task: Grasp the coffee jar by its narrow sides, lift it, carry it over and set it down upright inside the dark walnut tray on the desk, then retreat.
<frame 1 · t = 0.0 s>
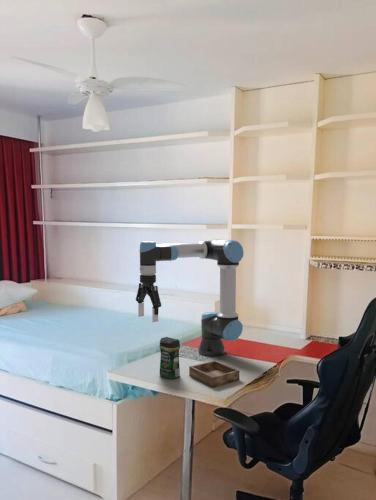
hand: (148, 319, 191), 28 cm above the table, fingers open, 13 cm apart
coffee jar: (169, 376, 194), on the table
walnut tray: (213, 377, 192), on the table
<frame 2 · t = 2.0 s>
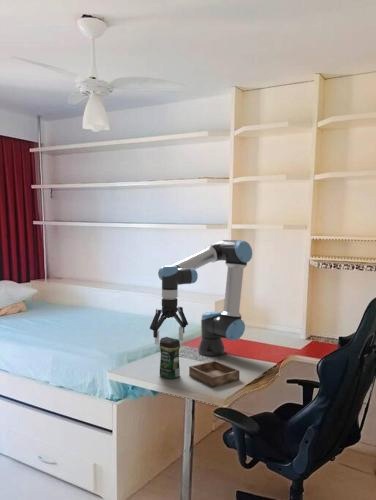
hand: (169, 342, 193), 16 cm above the table, fingers open, 13 cm apart
nothing on the table moved.
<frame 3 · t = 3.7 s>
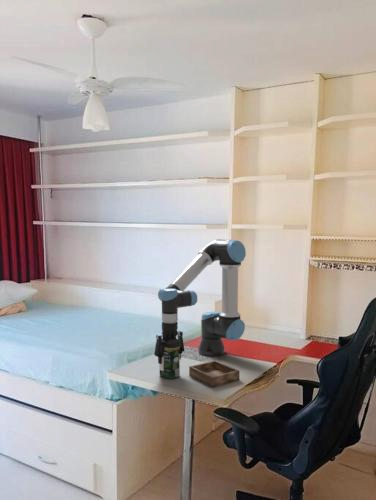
hand: (169, 368, 194), 4 cm above the table, fingers closed on coffee jar, 8 cm apart
coffee jar: (169, 376, 194), on the table, touching gripper
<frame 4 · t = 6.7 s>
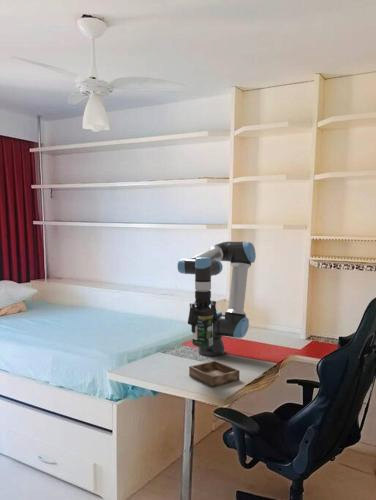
hand: (202, 337, 192), 19 cm above the table, fingers closed on coffee jar, 8 cm apart
coffee jar: (202, 346, 192), point 15 cm above the table, touching gripper
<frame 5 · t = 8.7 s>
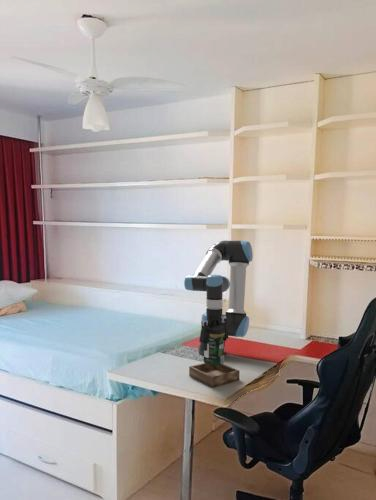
hand: (214, 355, 192), 11 cm above the table, fingers closed on coffee jar, 8 cm apart
coffee jar: (213, 363, 192), point 7 cm above the table, touching gripper
when the fingers open (6 cm above the table, at t = 10.0 s): coffee jar drops 1 cm, resting on walnut tray.
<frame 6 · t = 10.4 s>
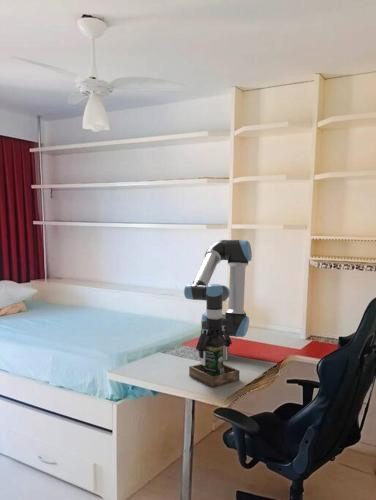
hand: (214, 362, 192), 8 cm above the table, fingers open, 13 cm apart
coffee jar: (213, 376, 192), point 1 cm above the table, touching walnut tray
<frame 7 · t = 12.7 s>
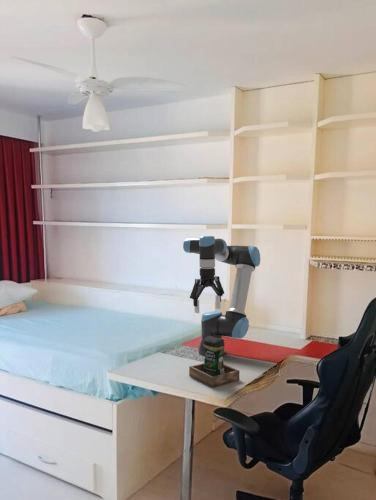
hand: (207, 310, 198), 31 cm above the table, fingers open, 13 cm apart
nothing on the table moved.
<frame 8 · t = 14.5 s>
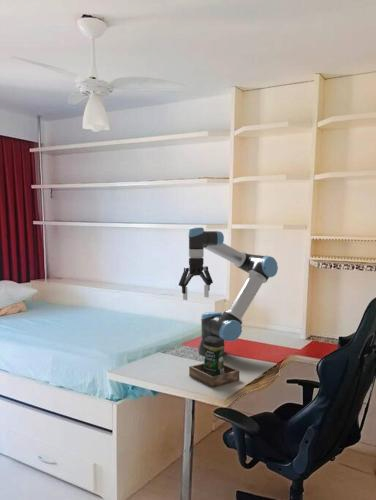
hand: (196, 298, 209), 35 cm above the table, fingers open, 13 cm apart
nothing on the table moved.
at the end: coffee jar 0.1 cm off-centre on the walnut tray, point 0.8 cm above the walnut tray's base; coffee jar tilted 0°; the gripper is holding nothing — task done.
